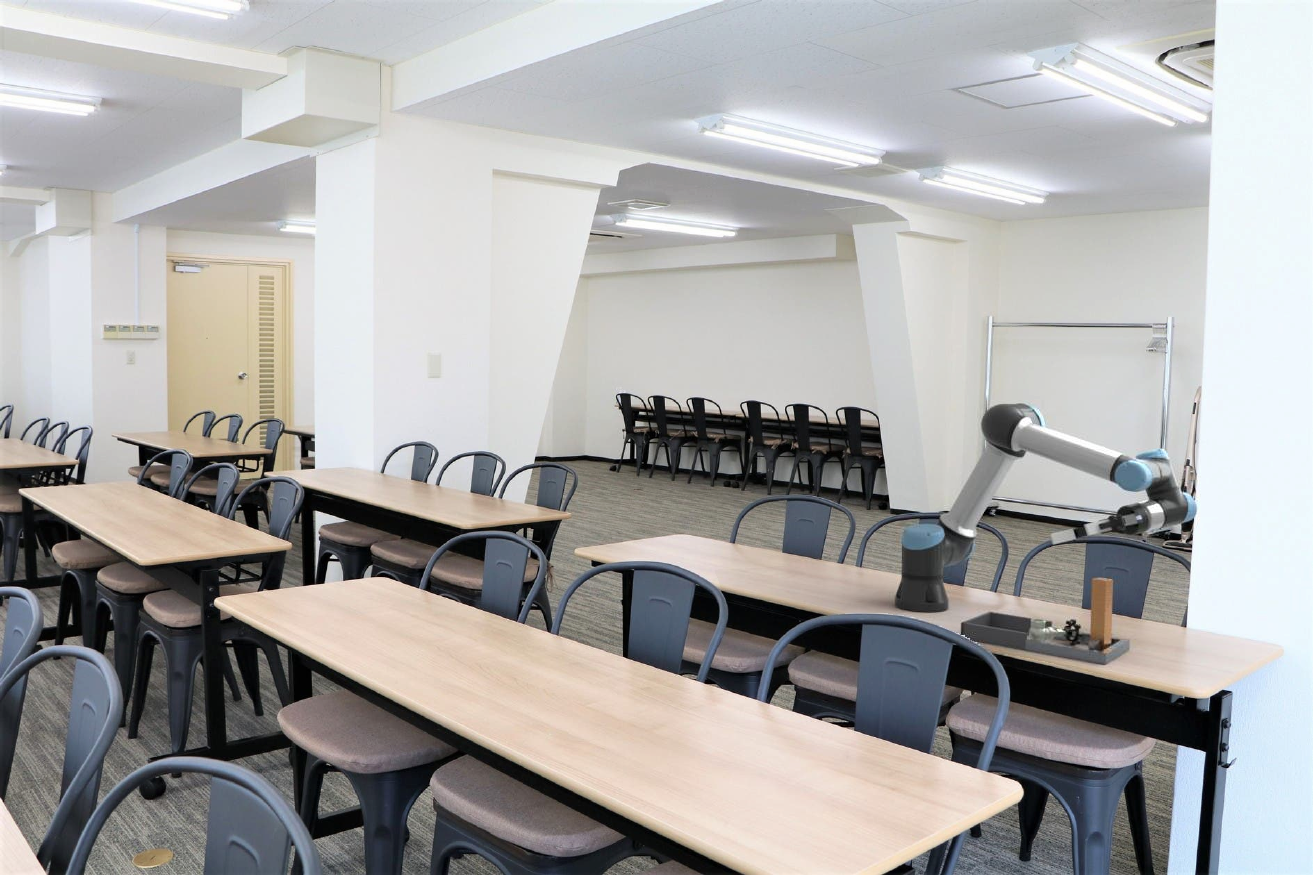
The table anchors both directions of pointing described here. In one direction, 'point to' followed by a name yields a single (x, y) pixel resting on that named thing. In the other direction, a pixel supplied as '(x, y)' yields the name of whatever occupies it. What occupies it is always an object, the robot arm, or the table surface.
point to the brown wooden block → (1101, 614)
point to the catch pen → (999, 629)
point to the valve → (1054, 631)
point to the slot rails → (1080, 649)
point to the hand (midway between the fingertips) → (1068, 534)
